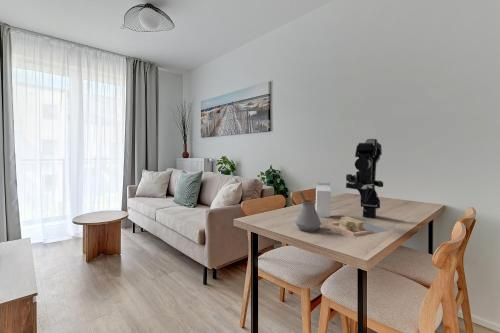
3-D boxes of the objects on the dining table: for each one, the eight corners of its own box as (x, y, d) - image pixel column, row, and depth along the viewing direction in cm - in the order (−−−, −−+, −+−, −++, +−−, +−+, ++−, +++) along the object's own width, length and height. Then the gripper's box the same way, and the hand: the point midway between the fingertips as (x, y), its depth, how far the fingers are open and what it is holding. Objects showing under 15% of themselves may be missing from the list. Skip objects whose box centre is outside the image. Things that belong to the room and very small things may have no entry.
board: (356, 221, 126) (356, 218, 125) (390, 232, 109) (390, 227, 109) (325, 227, 116) (325, 222, 116) (356, 239, 100) (356, 234, 100)
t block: (346, 224, 117) (346, 216, 117) (364, 230, 108) (365, 221, 108) (334, 227, 113) (334, 218, 113) (351, 233, 104) (351, 224, 104)
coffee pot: (324, 232, 108) (325, 199, 107) (298, 232, 108) (299, 199, 107) (311, 219, 130) (311, 191, 129) (289, 219, 129) (289, 191, 128)
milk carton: (330, 218, 131) (330, 183, 130) (316, 218, 132) (317, 183, 131) (328, 215, 138) (329, 182, 137) (315, 214, 139) (316, 181, 138)
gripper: (364, 168, 126) (363, 198, 127) (337, 169, 118) (336, 201, 119) (384, 169, 116) (383, 202, 117) (356, 170, 108) (355, 205, 109)
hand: (364, 202), depth 116 cm, fingers closed
